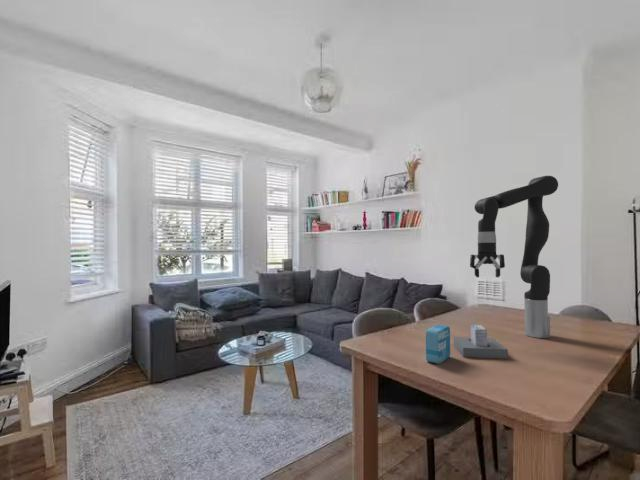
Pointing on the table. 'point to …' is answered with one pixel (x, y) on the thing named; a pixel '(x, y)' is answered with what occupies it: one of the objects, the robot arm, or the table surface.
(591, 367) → the table surface
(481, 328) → the medicine box
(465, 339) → the grey slotted block
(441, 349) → the blue printed box
